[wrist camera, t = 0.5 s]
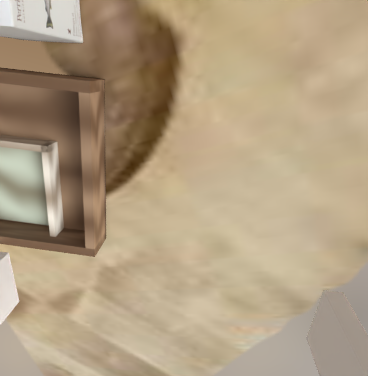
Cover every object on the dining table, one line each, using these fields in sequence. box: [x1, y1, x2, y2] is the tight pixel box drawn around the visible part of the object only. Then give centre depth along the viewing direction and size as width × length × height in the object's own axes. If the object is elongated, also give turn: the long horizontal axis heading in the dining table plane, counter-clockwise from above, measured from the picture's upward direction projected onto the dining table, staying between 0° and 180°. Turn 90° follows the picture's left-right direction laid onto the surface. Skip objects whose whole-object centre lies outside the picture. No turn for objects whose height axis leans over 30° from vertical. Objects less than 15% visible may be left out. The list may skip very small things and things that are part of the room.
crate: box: [0, 68, 106, 257], centre depth 36 cm, size 22×20×4 cm
